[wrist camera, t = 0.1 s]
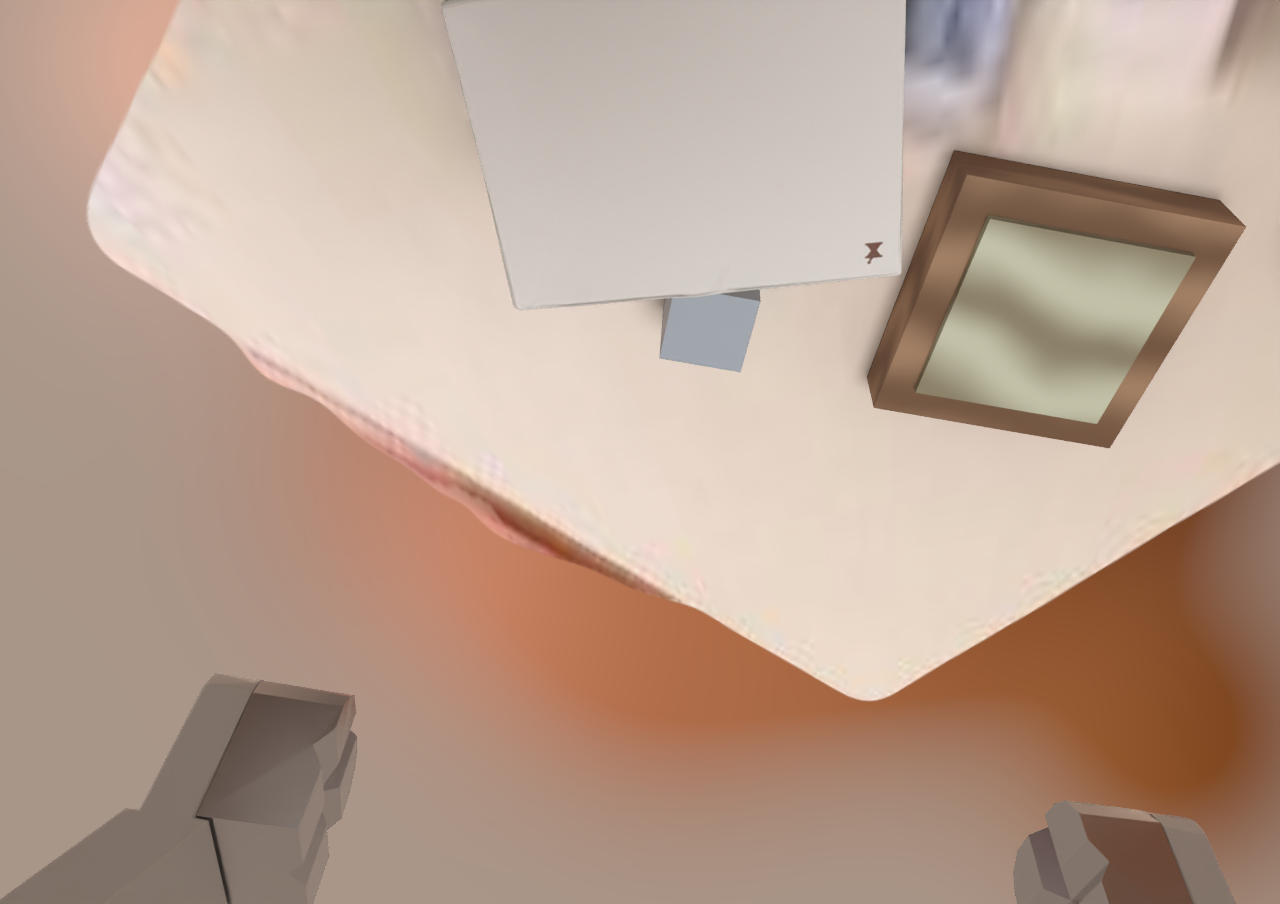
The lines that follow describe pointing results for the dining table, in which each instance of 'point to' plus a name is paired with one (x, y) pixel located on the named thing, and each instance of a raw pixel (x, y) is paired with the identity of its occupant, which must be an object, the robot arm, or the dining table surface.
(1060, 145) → the dining table surface
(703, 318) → the slate block
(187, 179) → the dining table surface
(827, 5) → the supplement box
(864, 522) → the dining table surface
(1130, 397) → the walnut stand
